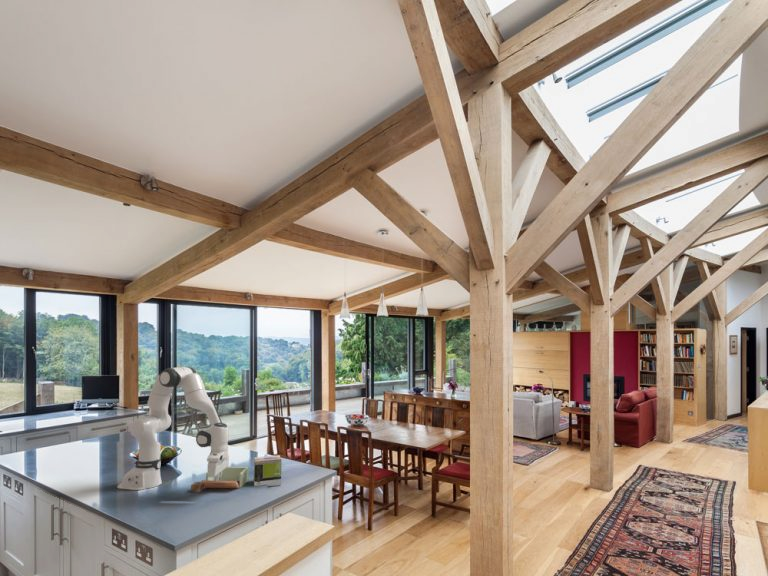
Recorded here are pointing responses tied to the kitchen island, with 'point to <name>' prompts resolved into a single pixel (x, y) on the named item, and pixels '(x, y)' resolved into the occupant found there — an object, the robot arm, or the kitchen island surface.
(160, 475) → the robot arm
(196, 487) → the walnut block
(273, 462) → the tea box
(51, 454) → the kitchen island surface
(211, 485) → the board
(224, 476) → the box
